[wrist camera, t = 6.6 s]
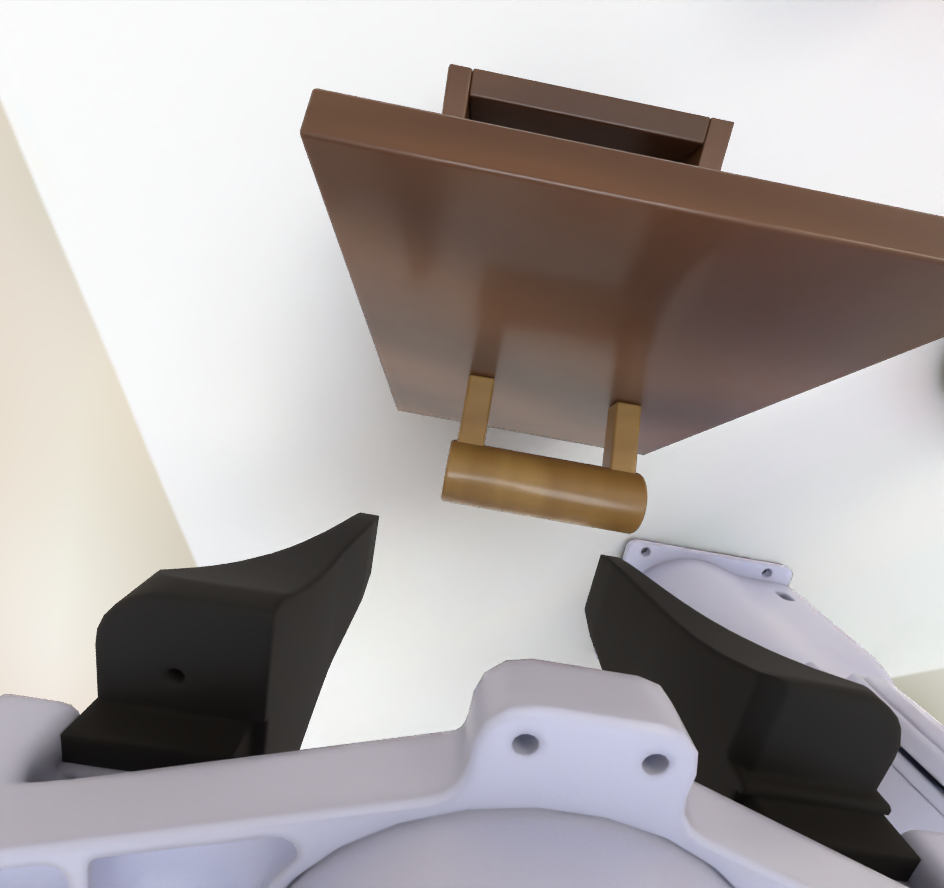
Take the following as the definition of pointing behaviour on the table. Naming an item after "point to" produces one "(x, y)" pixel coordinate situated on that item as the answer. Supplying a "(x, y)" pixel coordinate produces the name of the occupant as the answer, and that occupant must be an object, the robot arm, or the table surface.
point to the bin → (586, 117)
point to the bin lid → (600, 294)
